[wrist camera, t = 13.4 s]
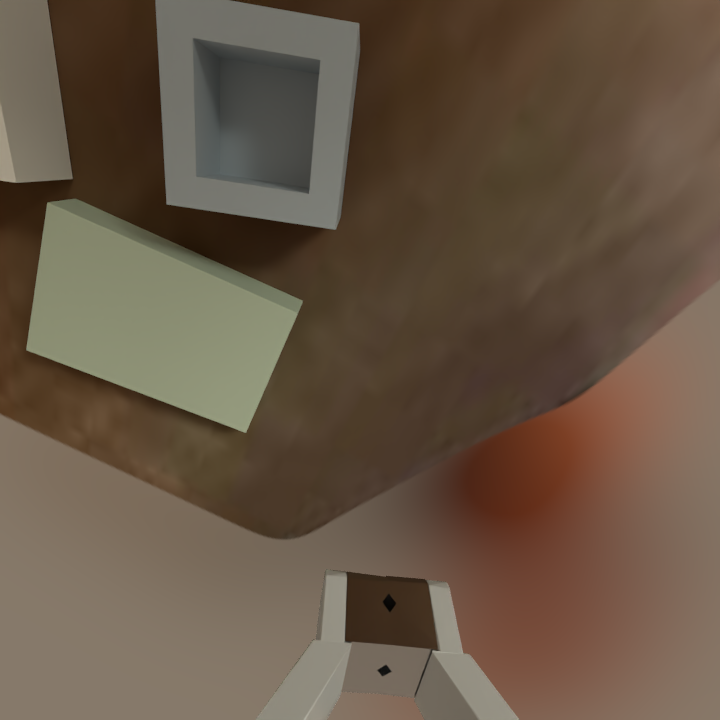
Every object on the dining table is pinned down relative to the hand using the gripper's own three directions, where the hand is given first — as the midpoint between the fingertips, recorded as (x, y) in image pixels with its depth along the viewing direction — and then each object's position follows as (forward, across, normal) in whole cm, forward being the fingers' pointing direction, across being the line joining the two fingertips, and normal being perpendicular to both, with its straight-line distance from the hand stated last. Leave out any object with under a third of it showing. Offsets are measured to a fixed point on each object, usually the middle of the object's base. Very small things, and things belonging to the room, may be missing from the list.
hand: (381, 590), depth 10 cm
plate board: (+15, +11, 0) cm, 19 cm away
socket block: (+15, +6, -10) cm, 19 cm away
